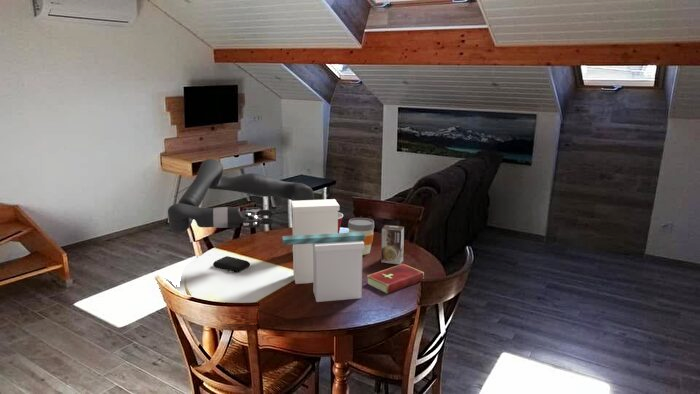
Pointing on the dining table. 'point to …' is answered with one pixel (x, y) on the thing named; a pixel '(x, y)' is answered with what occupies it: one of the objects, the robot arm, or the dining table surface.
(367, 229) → the reusable coffee cup
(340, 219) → the plastic cup
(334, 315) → the dining table surface
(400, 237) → the coffee box
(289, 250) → the dining table surface
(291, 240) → the slat
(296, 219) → the tall stand
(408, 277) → the hardcover book
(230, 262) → the carrying case or bag
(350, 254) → the low stand
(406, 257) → the dining table surface
